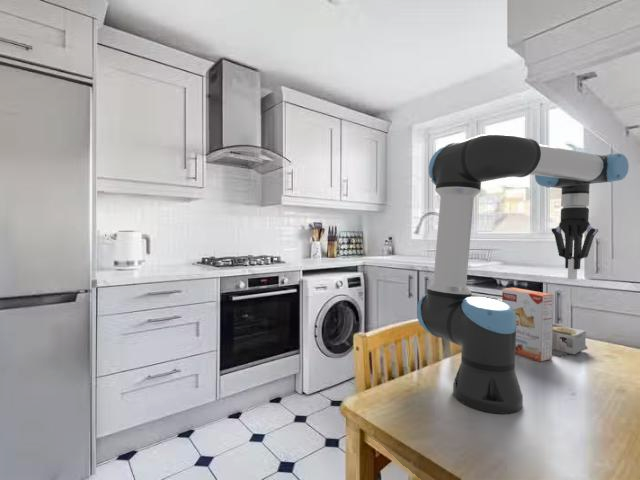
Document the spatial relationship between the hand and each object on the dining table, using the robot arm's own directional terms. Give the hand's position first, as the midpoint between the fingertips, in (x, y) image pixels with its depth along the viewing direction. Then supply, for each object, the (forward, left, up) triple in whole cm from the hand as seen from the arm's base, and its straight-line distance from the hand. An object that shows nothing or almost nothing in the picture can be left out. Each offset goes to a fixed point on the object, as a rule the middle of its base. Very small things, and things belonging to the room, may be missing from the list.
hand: (572, 278), depth 117 cm
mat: (+1, +6, -25) cm, 25 cm away
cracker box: (-15, +6, -25) cm, 30 cm away
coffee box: (+1, -3, -21) cm, 21 cm away
